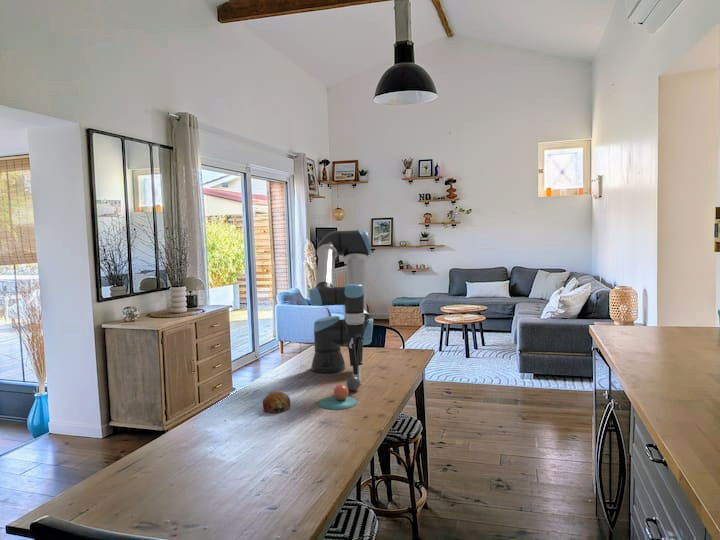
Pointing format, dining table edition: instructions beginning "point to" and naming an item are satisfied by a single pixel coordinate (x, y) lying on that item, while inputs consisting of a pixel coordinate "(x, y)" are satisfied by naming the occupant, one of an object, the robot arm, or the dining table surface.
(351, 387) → the gray ball
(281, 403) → the bread roll
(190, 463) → the dining table surface
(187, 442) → the dining table surface
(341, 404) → the teal mark
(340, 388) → the red ball
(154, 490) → the dining table surface
